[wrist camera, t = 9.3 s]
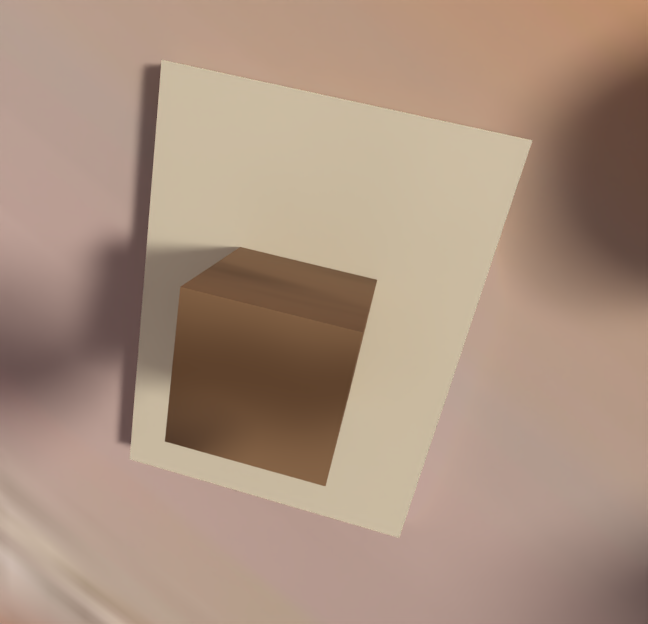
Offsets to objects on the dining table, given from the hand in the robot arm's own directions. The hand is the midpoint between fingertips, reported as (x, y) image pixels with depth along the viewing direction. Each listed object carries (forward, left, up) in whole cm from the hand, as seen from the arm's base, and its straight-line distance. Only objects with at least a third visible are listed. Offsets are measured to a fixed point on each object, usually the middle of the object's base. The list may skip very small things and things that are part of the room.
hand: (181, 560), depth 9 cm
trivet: (0, 0, -12) cm, 12 cm away
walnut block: (0, 0, -11) cm, 11 cm away
